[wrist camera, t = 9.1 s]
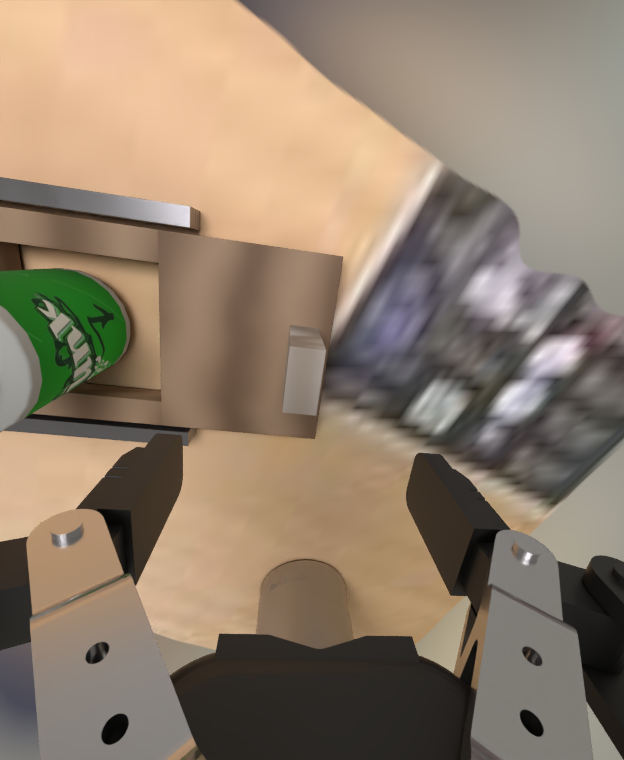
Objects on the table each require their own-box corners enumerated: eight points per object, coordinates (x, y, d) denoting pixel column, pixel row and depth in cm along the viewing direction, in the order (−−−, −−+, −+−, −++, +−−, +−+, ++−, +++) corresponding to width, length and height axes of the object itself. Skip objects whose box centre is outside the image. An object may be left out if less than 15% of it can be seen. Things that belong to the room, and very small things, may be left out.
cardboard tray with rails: (339, 256, 24) (360, 256, 17) (313, 427, 29) (320, 486, 21) (-38, 201, 22) (-213, 172, 14) (1, 398, 26) (-114, 454, 19)
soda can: (16, 333, 25) (-210, 396, 14) (53, 245, 23) (-175, 233, 12) (112, 385, 27) (-17, 477, 16) (154, 307, 25) (40, 348, 14)
